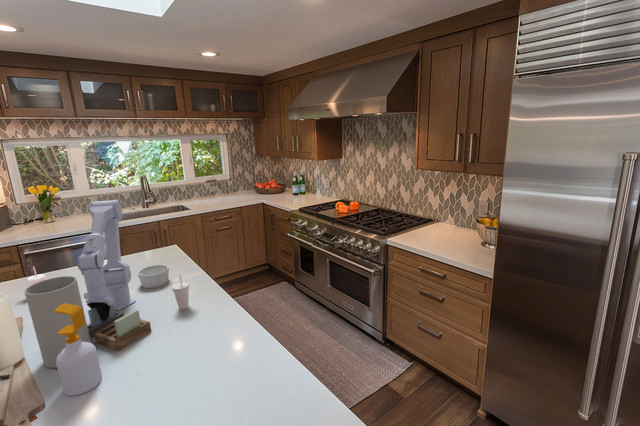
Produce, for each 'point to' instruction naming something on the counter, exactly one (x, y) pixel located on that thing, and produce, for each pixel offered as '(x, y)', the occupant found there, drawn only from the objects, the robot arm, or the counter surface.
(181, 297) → the smoothie
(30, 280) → the beverage cup
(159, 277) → the ramekin
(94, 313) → the blue grey tile
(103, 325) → the stand
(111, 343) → the rack
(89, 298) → the robot arm
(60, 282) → the cylinder vase
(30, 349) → the counter surface
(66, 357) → the soap bottle
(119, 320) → the thin sage green tile
